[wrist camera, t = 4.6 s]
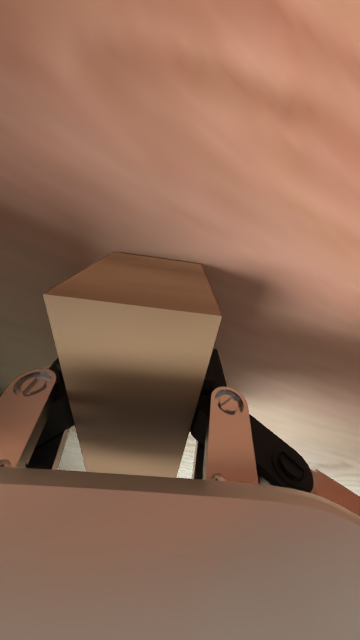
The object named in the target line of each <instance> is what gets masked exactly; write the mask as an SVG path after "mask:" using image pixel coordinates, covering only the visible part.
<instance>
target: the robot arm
mask: <svg viewBox="0 0 360 640" xmlns="http://www.w3.org/2000/svg"><path fill="white" fill-rule="evenodd" d="M73 425H75V423H74V419H73V415H72V411H71V407H70V403H69V399H68V395H67V391H66V387H65V383H64V379H63V375H62V371H61V366H60V362H59V358H57V360H56V361H55V362H54V363H53V364H52V366H51V367H50V368H49V369H35V370H31V371H28V372H26V373H24V374H22V375H20V376H18V377H17V378H15V379H14V380H13V381H12V382H11V383H10V384H9V386H8V387H7V389H6V390H5V391H4V393H3V394H2V396H0V640H360V496H358V495H356V494H355V493H353V492H352V491H350V490H349V489H347V488H345V487H344V486H342V485H341V484H339V483H337V482H336V481H334V480H333V479H331V478H330V477H328V476H326V475H325V474H323V473H322V472H320V471H318V470H317V469H316V470H315V471H313V470H311V469H310V468H309V466H308V464H307V463H306V462H305V460H304V459H303V458H302V456H300V455H299V454H298V453H297V452H296V451H295V450H294V449H293V448H291V447H290V446H289V445H288V444H286V443H285V442H284V441H283V440H281V439H280V438H279V437H278V436H276V435H275V434H274V433H273V432H271V431H270V430H269V429H267V428H266V427H265V426H264V425H262V424H261V423H260V422H259V421H257V420H256V419H255V418H254V417H252V416H251V415H250V414H249V410H248V405H247V402H246V400H245V398H244V397H243V396H242V395H241V394H240V393H239V392H238V391H236V390H235V389H233V388H230V387H227V385H226V382H225V378H224V374H223V370H222V366H221V363H220V359H219V355H218V351H217V350H216V349H213V350H212V354H211V357H210V361H209V364H208V368H207V371H206V375H205V378H204V382H203V385H202V389H201V392H200V396H199V399H198V403H197V406H196V410H195V413H194V417H193V420H192V424H191V427H190V431H189V432H191V435H192V436H193V437H194V438H195V439H196V448H195V457H194V465H193V474H192V479H186V478H172V477H157V476H142V475H127V474H112V473H96V472H80V471H65V470H57V468H58V465H59V462H60V459H61V455H62V452H63V449H64V445H65V442H66V439H67V436H68V432H69V428H70V427H72V426H73Z"/></svg>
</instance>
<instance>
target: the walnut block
mask: <svg viewBox="0 0 360 640" xmlns="http://www.w3.org/2000/svg"><path fill="white" fill-rule="evenodd" d="M43 297H44V301H45V305H46V309H47V314H48V318H49V322H50V326H51V330H52V334H53V338H54V342H55V346H56V350H57V354H58V358H59V362H60V366H61V371H62V375H63V379H64V383H65V387H66V391H67V395H68V399H69V403H70V407H71V411H72V415H73V419H74V423H75V428H76V432H77V436H78V440H79V444H80V448H81V452H82V456H83V460H84V464H85V468H86V472H96V473H112V474H127V475H142V476H157V477H172V478H176V476H177V473H178V469H179V466H180V462H181V459H182V455H183V452H184V448H185V445H186V441H187V438H188V434H189V431H190V427H191V424H192V420H193V417H194V413H195V410H196V406H197V403H198V399H199V396H200V392H201V389H202V385H203V382H204V378H205V375H206V371H207V368H208V364H209V361H210V357H211V354H212V350H213V347H214V343H215V340H216V336H217V333H218V329H219V326H220V322H221V319H222V314H221V312H220V309H219V307H218V304H217V302H216V299H215V297H214V294H213V292H212V289H211V287H210V284H209V282H208V279H207V277H206V274H205V272H204V269H203V267H202V264H196V263H189V262H182V261H175V260H168V259H161V258H154V257H147V256H140V255H133V254H126V253H119V252H113V253H111V254H109V255H108V256H106V257H104V258H103V259H101V260H99V261H98V262H96V263H94V264H93V265H91V266H89V267H87V268H86V269H84V270H82V271H81V272H79V273H77V274H76V275H74V276H72V277H71V278H69V279H67V280H66V281H64V282H62V283H60V284H59V285H57V286H55V287H54V288H52V289H50V290H49V291H47V292H45V293H44V294H43Z"/></svg>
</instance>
